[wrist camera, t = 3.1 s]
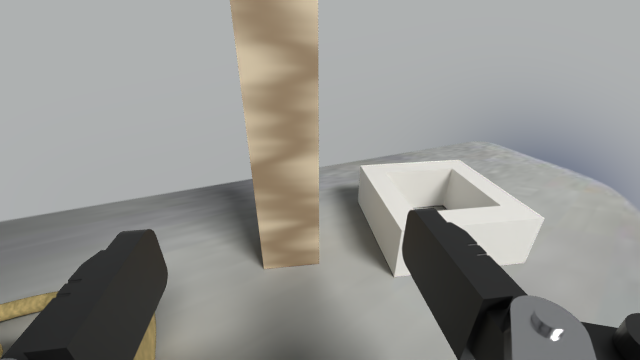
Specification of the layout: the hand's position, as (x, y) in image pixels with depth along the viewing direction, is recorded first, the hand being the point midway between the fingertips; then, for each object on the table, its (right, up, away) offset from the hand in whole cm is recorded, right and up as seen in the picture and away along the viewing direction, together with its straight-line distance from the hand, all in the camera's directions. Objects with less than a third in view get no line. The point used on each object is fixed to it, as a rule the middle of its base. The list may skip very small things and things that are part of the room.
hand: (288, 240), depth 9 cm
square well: (+10, -2, +15) cm, 19 cm away
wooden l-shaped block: (-1, -3, +14) cm, 15 cm away
